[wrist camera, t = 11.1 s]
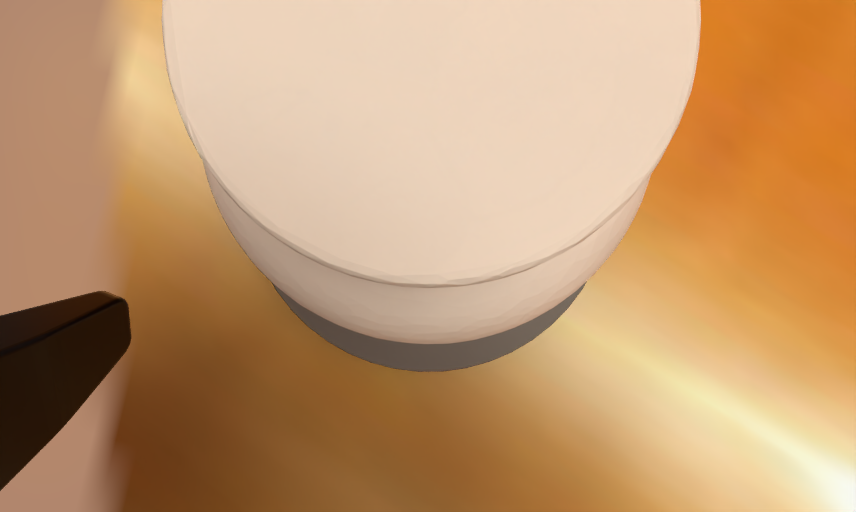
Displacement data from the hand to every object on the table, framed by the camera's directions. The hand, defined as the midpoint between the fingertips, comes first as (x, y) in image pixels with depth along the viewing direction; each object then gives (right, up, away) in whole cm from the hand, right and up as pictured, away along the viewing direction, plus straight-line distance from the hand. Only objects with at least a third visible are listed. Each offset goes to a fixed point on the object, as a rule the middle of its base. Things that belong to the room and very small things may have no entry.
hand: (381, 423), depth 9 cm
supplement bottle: (+1, +4, +9) cm, 10 cm away
